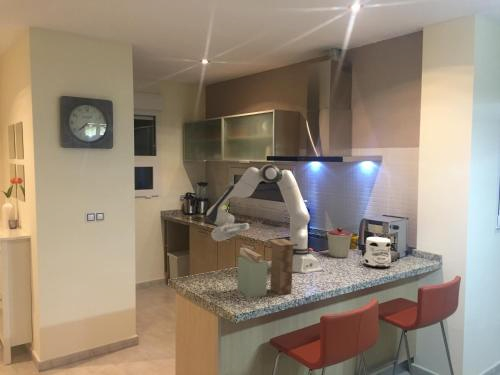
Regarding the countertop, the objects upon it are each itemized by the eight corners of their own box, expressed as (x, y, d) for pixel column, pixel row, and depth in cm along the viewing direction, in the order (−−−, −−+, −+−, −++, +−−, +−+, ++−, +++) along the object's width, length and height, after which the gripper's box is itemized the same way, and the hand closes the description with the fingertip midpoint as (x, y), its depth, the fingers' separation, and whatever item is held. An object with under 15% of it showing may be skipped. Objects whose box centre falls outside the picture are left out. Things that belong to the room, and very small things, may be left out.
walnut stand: (282, 286, 228) (283, 238, 226) (295, 294, 216) (297, 244, 214) (265, 288, 224) (267, 239, 222) (278, 296, 211) (280, 245, 210)
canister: (347, 260, 291) (348, 230, 290) (322, 256, 300) (323, 227, 299) (354, 255, 307) (355, 227, 305) (330, 252, 316) (331, 224, 314)
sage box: (254, 287, 225) (255, 255, 224) (266, 295, 213) (267, 262, 211) (237, 289, 221) (238, 257, 220) (248, 297, 208) (249, 263, 207)
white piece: (379, 270, 267) (381, 242, 266) (358, 264, 281) (359, 238, 279) (396, 267, 277) (397, 240, 276) (374, 261, 291) (375, 235, 290)
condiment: (356, 250, 326) (357, 234, 325) (345, 248, 330) (346, 233, 329) (359, 248, 332) (359, 233, 331) (348, 247, 336) (349, 232, 336)
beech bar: (245, 253, 227) (245, 247, 227) (261, 262, 209) (261, 255, 209) (239, 254, 226) (240, 247, 226) (256, 263, 208) (256, 256, 208)
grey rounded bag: (380, 255, 311) (372, 260, 294) (380, 244, 311) (372, 248, 294) (401, 258, 303) (394, 264, 286) (401, 247, 303) (395, 252, 286)
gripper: (211, 227, 243) (221, 223, 232) (241, 223, 254) (252, 218, 243) (213, 238, 242) (223, 234, 230) (243, 233, 253) (255, 229, 241)
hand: (238, 226), depth 237 cm, fingers open, 8 cm apart
